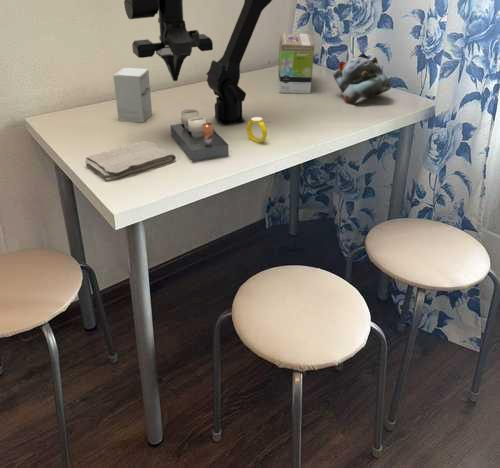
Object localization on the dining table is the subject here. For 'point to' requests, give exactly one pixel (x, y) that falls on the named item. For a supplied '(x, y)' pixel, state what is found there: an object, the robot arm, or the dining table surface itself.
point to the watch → (263, 127)
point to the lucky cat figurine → (360, 79)
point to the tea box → (295, 63)
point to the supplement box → (133, 94)
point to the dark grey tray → (198, 144)
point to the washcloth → (128, 160)
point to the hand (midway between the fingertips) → (175, 80)
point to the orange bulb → (207, 133)
